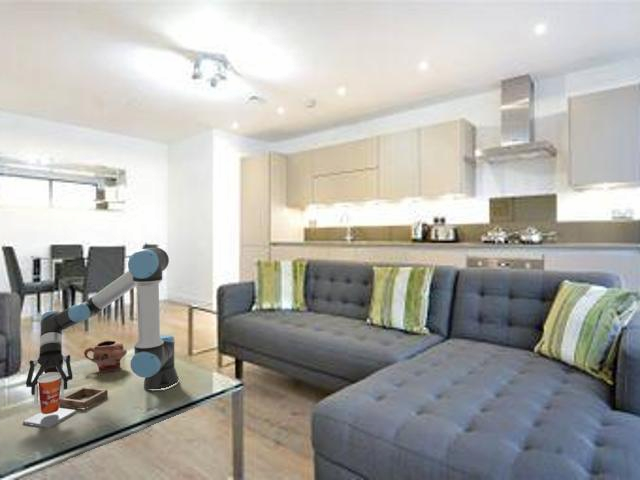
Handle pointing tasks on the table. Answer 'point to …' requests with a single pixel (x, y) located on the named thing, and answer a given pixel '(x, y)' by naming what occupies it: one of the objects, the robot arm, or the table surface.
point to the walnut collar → (94, 392)
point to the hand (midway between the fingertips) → (49, 399)
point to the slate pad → (49, 418)
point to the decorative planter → (107, 355)
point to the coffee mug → (53, 368)
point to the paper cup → (49, 392)
